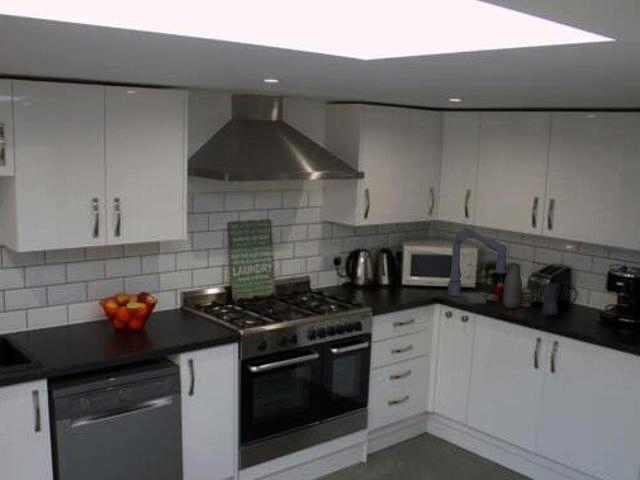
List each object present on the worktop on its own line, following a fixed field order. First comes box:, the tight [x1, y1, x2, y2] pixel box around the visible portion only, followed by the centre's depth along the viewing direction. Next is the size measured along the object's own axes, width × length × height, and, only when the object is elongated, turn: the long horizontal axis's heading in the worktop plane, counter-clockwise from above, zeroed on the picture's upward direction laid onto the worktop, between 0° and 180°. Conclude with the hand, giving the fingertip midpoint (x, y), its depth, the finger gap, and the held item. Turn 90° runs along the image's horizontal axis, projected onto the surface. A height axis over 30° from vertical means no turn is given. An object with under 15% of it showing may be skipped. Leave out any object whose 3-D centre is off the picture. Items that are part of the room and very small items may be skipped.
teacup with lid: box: [519, 286, 537, 308], centre depth 413 cm, size 12×9×12 cm
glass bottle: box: [502, 262, 523, 310], centre depth 402 cm, size 10×10×28 cm
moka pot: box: [540, 280, 565, 316], centre depth 393 cm, size 10×15×20 cm, turn 111°
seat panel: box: [460, 292, 487, 304], centre depth 425 cm, size 18×10×2 cm, turn 7°
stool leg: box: [476, 290, 499, 302], centre depth 429 cm, size 16×3×3 cm, turn 37°
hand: (499, 284), depth 428 cm, fingers open, 4 cm apart
